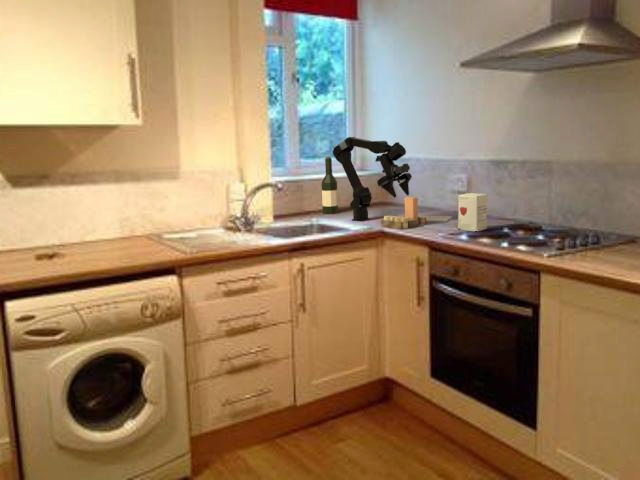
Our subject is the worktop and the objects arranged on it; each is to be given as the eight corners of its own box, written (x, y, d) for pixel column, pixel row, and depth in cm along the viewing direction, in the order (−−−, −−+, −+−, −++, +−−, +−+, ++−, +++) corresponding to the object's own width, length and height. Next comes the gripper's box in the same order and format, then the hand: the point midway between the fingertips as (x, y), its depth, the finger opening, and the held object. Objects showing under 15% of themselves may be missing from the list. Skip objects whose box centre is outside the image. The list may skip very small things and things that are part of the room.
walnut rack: (381, 229, 268) (381, 220, 268) (406, 224, 278) (406, 215, 277) (401, 231, 259) (401, 222, 258) (426, 226, 269) (426, 217, 268)
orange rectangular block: (405, 224, 272) (404, 197, 270) (409, 223, 274) (409, 196, 272) (413, 225, 269) (413, 198, 267) (418, 224, 271) (417, 197, 268)
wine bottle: (321, 212, 330) (319, 157, 325) (337, 211, 331) (335, 156, 325) (323, 214, 322) (321, 157, 316) (339, 213, 323) (337, 156, 317)
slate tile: (403, 223, 282) (403, 220, 282) (410, 218, 294) (410, 215, 294) (446, 224, 274) (446, 220, 274) (452, 219, 287) (452, 216, 286)
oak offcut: (394, 227, 264) (394, 217, 263) (399, 226, 266) (399, 216, 265) (403, 228, 260) (403, 218, 259) (408, 228, 262) (407, 217, 261)
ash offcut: (384, 226, 269) (384, 216, 268) (389, 225, 271) (388, 215, 270) (392, 227, 265) (392, 217, 264) (397, 226, 267) (397, 216, 266)
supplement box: (457, 230, 258) (457, 195, 255) (468, 227, 264) (468, 192, 261) (476, 231, 251) (476, 195, 249) (487, 228, 258) (487, 193, 255)
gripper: (387, 158, 267) (401, 190, 264) (413, 156, 280) (426, 186, 277) (370, 170, 275) (384, 201, 272) (396, 167, 288) (409, 196, 285)
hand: (401, 196), depth 277 cm, fingers open, 9 cm apart
